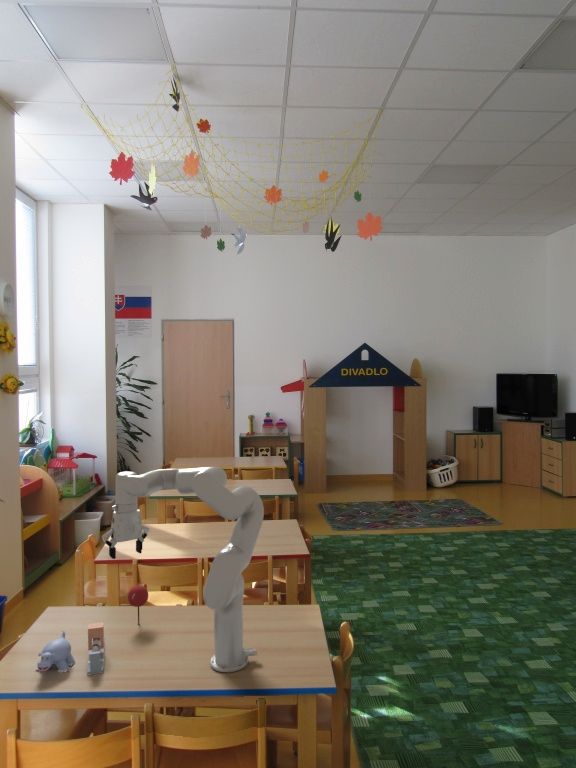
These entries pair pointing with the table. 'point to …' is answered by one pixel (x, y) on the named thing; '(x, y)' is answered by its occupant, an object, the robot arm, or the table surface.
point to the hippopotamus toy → (56, 655)
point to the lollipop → (138, 597)
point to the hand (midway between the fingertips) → (125, 555)
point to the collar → (95, 634)
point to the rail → (95, 658)
